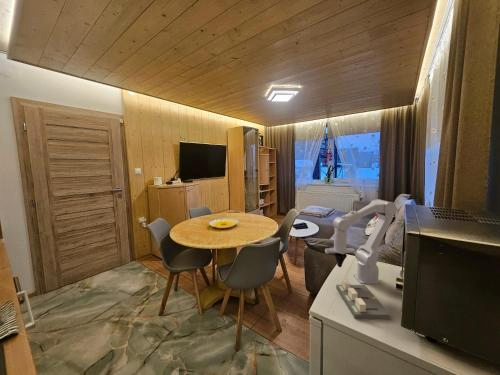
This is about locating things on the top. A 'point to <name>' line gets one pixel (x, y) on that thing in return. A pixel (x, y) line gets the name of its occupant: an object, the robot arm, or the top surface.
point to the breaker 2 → (360, 304)
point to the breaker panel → (372, 304)
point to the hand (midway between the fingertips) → (339, 266)
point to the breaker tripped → (352, 293)
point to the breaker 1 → (346, 284)
